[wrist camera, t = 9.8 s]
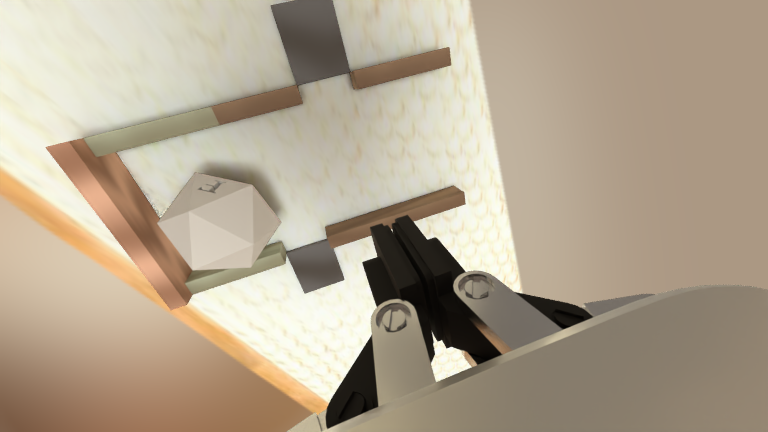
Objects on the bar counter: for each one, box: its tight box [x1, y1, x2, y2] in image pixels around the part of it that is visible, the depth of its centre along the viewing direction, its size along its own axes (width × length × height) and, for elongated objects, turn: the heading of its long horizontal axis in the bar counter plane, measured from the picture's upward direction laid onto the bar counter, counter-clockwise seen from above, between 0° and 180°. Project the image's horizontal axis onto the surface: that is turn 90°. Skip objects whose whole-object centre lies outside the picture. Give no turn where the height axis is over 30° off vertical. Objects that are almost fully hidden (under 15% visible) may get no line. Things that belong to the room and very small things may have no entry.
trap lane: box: [46, 0, 465, 310], centre depth 28 cm, size 28×32×4 cm
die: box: [157, 172, 281, 270], centre depth 25 cm, size 8×9×10 cm
